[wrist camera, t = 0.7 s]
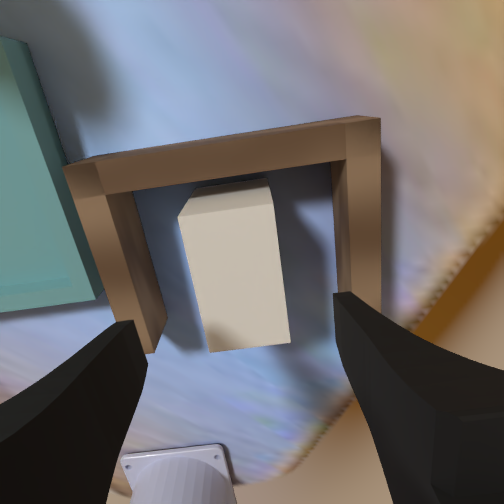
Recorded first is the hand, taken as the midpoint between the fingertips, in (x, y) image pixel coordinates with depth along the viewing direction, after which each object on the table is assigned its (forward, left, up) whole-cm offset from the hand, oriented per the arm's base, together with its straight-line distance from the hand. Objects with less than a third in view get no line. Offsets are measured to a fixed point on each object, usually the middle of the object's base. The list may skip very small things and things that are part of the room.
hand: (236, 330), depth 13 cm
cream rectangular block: (0, 0, -9) cm, 9 cm away
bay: (0, 0, -9) cm, 9 cm away
